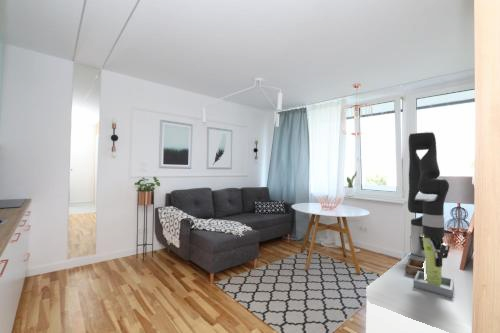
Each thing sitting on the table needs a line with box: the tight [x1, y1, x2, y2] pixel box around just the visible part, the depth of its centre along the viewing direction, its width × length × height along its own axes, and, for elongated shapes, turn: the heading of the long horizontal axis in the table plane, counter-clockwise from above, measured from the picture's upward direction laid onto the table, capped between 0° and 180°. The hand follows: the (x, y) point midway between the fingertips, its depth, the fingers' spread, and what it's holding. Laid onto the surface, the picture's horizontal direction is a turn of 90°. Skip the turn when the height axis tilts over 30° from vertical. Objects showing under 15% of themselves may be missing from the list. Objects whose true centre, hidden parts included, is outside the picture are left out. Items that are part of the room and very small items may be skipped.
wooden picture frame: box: [405, 257, 425, 277], centre depth 115 cm, size 12×12×4 cm
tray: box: [413, 271, 455, 299], centre depth 102 cm, size 13×13×3 cm
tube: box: [422, 237, 445, 286], centre depth 102 cm, size 6×5×20 cm
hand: (433, 263), depth 102 cm, fingers closed on tube, 4 cm apart
